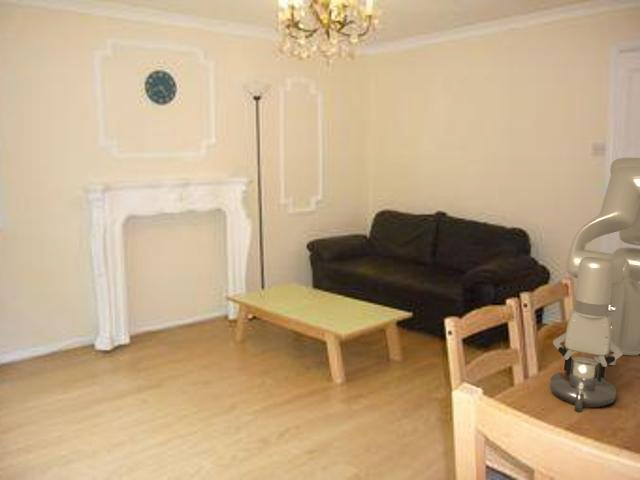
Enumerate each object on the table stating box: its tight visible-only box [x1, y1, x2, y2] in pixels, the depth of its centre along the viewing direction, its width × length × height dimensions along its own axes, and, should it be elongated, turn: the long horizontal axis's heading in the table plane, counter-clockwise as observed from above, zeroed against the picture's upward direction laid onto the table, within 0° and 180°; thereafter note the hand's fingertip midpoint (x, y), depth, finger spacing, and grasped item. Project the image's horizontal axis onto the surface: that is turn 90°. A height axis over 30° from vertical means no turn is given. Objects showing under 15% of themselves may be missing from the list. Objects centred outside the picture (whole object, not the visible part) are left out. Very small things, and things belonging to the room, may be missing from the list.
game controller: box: [593, 356, 617, 375], centre depth 166 cm, size 6×12×3 cm, turn 172°
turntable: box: [549, 354, 617, 406], centre depth 146 cm, size 15×15×7 cm
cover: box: [570, 356, 599, 389], centre depth 146 cm, size 6×6×6 cm
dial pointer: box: [574, 390, 584, 413], centre depth 140 cm, size 3×2×4 cm, turn 152°
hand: (583, 375), depth 146 cm, fingers open, 6 cm apart
